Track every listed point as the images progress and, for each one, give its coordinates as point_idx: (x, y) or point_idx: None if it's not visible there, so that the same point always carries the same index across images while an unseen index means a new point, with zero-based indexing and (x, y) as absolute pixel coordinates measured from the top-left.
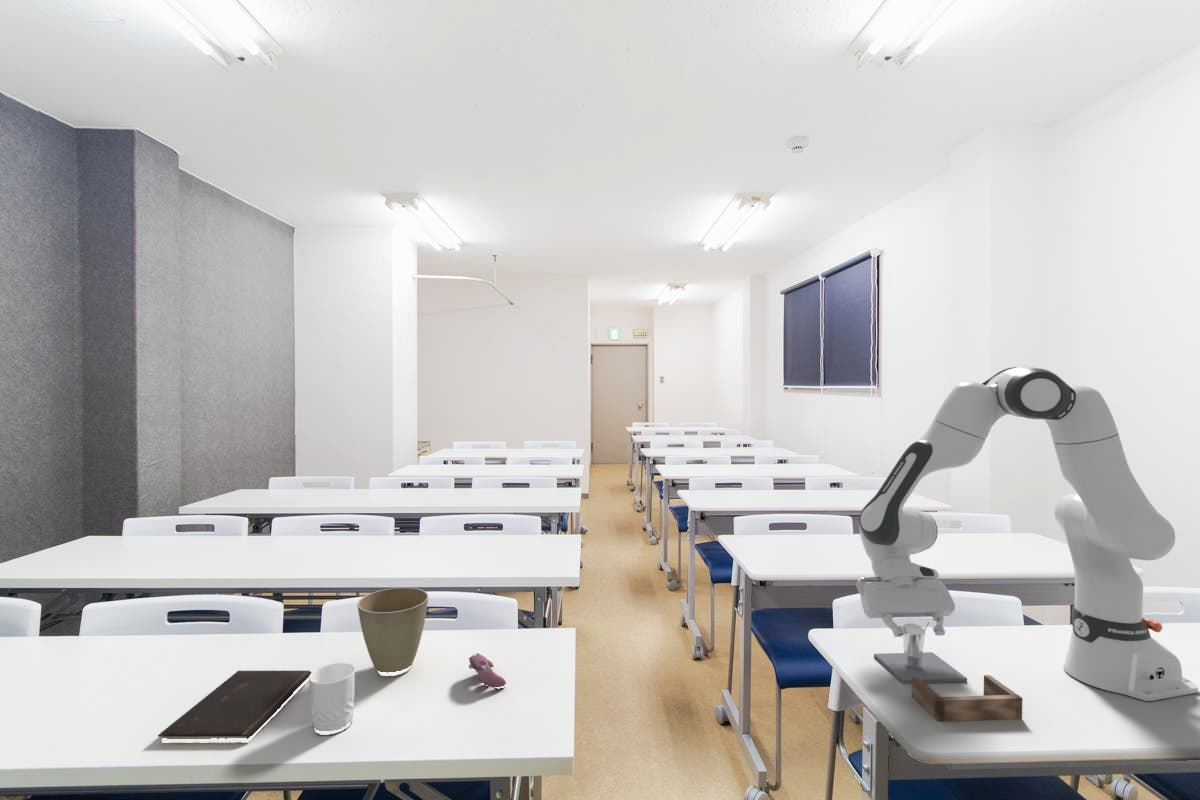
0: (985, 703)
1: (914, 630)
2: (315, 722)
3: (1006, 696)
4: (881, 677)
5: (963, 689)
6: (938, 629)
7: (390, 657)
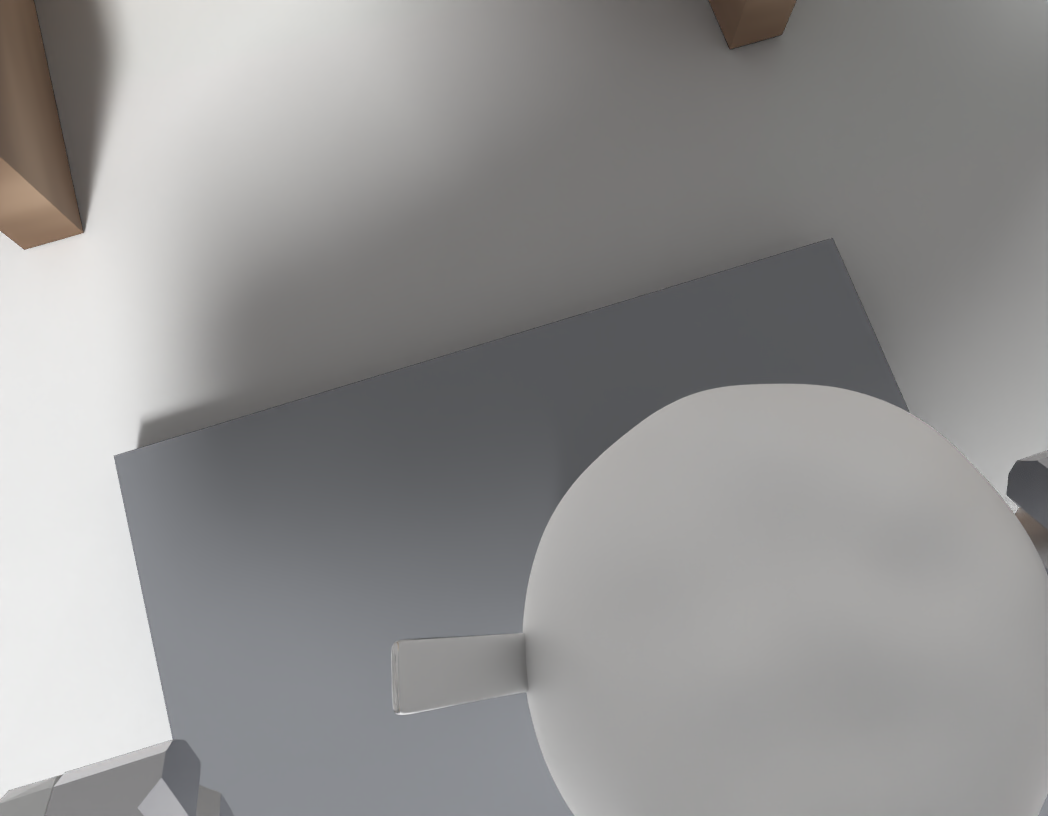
0: None
1: (828, 419)
2: None
3: None
4: (1025, 340)
5: (241, 291)
6: (139, 803)
7: None
